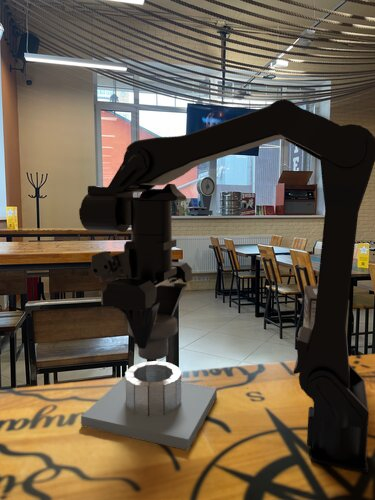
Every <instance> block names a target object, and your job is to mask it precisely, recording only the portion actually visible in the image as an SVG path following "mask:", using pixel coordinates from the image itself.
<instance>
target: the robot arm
mask: <svg viewBox="0 0 375 500" xmlns="http://www.w3.org/2000/svg"><path fill="white" fill-rule="evenodd" d="M278 140H284V141H286V142H287V143H289V144H291V145H293V146H295V147H296V148H298V149H300V150H302V151H303V152H305V153H306V154H309V156H311V157H313V158H315V159H317V160H319V161H320V162H319V164H320V173H321V183H322V185H321V186H322V192H323V193H322V194H323V202H324V219H323V230H322V237H321V238H322V239H321V240H322V241H321V248H320V249H321V250H320V260H319V268H318V269H319V271H318V279H317V281H318V282H317V286H318V289H317V300H316V310H315V319H314V322H313V325H312V329H309V328H306V327H303V325H302V326H300V330H299V333H298V336H297V340H296V353H297V357H296V361H295V365H294V367H293V372H292V373H293V374H294V375H297V374H298V382H299V387H300V389H301V390H302V391H303V392H304V393H305V394H306V396H307V397H309V398H310V399H312V402H313V406H310V407H308V415H307V432H306V433H307V434H306V446H307V447H308V448H310V451H309V452H310V454H309V455H310V456H309V460H310V461H311V462H314V463H319V464H322V465H323V464H324V465H328V466H332V467H337V468H342V469H347V470H352V471H355V472H360V473H368V471H369V462H368V458H367V450H368V449H367V447H368V434H369V433H368V432H369V419H370V418H369V417H370V413H369V412H370V411H369V403H368V398H367V396H368V395H367V390H366V389H367V388H366V381H365V379H364V378H363V377H362V376H361V375H360V374H359V373H358V372H357V370H356V369H354V367H353V366H352V365H351V364H350V360H349V359H350V358H349V348H348V345H349V344H348V333H347V334H346V320H347V311H348V302H349V303H350V292H351V291H350V290H351V281H352V274H353V265H354V257H355V256H354V254H355V246H356V237H357V228H358V220H359V211H360V209H361V205H362V204H363V199H364V196H365V194H366V191H367V187H368V185H369V182H370V178H371V176H372V175H371V174H372V172H373V169H374V166H375V136H374V134H373V133H372V132H371V131H370V130H369V129H368V128H366V127H363V126H362V125H359V124H351V123H350V124H344V125H339V124H338V123H336V122H334V121H332V120H330V119H328V118H326V117H325V116H324V117H323V115H322V116H321V115H319V114H317V113H314V112H312V111H309V110H307V109H304V108H302V107H300V106H299V105H297V104H296V103H294V102H293V101H292V100H290V99H277V100H275V101H274V102H272V103H271V104H269V105H267V106H265V107H262V108H259V109H255V110H253V111H250V112H247V113H244V114H242V115H238V116H235V117H233V118H230V119H227V120H224V121H221V122H219V123H216V124H213V125H210V126H207V127H205V128H202V129H199V130H195V131H193V132H190V133H187V134H184V135H177V136H158V137H151V138H145V139H138V140H135V141H133V142H131V143H130V144H129V145H127V147H126V150H125V153H124V154H123V158H122V159H123V161H122V163H121V164H120V166H119V167H118V169H117V171H116V173H115V174H114V176H113V177H112V180H111V181H110V182H109V185H108V186H103V185H88V186H87V194H86V195H85V196H84V198H83V199H82V201H81V204H80V207H79V210H78V213H79V214H78V215H79V216H78V217H79V220H80V223H81V225H82V227H83V228H84V230H86V231H88V232H104V233H105V232H107V233H125V232H127V231H128V230H129V228H130V227H131V229H130V230H131V231H130V232H131V239H130V240H127V241H125V243H124V245H123V249H124V250H123V252H121V253H118V254H113V255H112V256H111V254H109V253H108V251H102V252H99V253H96V254H93V255H91V263H90V264H91V265H90V267H91V268H90V273H91V274H92V275H93V276H94V277H95V278H99V281H100V283H105V282H107V281H108V280H112V279H114V280H112V281H109V282H108V283H106V284H105V285H104V286H102V288H101V289H100V300H101V301H100V302H101V303H100V304H101V305H102V306H105V307H112V308H113V309H118V310H119V311H120V312H121V313H123V314H124V316H125V318H126V320H127V323H128V322H129V325H130V327H131V330H132V333H133V335H134V337H133V338H134V341H135V344H136V346H137V348H141V349H145V348H146V346H147V343H148V340H149V337H150V334H151V331H152V327H153V324H154V320H155V317H156V314H167V315H171V316H173V317H174V314H175V311H176V310H177V307H178V305H179V303H180V300H181V298H182V296H183V294H184V292H185V290H186V288H187V286H188V284H187V283H188V282H190V281H192V280H193V269H192V267H191V266H190V265H189V264H188V262H182V261H181V262H178V261H177V262H176V261H173V254H172V253H173V250H172V249H173V248H175V247H177V239H173V237H172V235H173V234H172V226H173V225H172V222H173V221H172V219H173V218H172V202H184V201H186V200H187V197H186V195H184V193H182V191H180V190H179V189H178V187H177V186H176V184H175V183H171V182H173V181H175V180H177V179H179V178H181V177H183V176H184V175H185V174H187V173H188V172H190V171H191V170H192V169H194V168H195V167H198V166H199V165H202V164H205V163H208V162H212V161H215V160H218V159H221V158H224V157H229V156H231V155H234V154H238V153H241V152H244V151H247V150H250V149H253V148H257V147H259V146H263V145H266V144H269V143H272V142H275V141H278ZM156 186H164V187H163V188H162V189H161V188H160V189H157V188H156V189H154V187H156ZM134 193H140V195H139V197H137V196H135V197H134ZM120 276H122V277H120ZM117 277H118V278H117ZM119 277H120V278H119ZM115 278H116V279H115ZM180 279H181V280H182V282H181V283H180V282H179V281H180ZM348 312H349V311H348Z"/></svg>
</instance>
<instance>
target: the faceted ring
mask: <svg viewBox="0 0 375 500" xmlns="http://www.w3.org/2000/svg"><path fill="white" fill-rule="evenodd" d="M124 374H125V375H124V377H125V383H126V407H127V409H129V410H130V411H131V412H132V413H134V414H136V415H141V416H146V417H148V416H149V417H154V416H163V415H166V414H168V413H170V412H173V411H175V410H176V409H177V408H178V407H179V405H180V404H181V382H182V371H181V370H180V367H179V366H177V365H175V364H173V363H171V362H166V361H160V360H158V361H157V360H153V361H152V360H150V361H144V362H143V361H142V362H141V363H137V364H134V365H132V366H130V367H129V368H128V369H127V370H126V371H125V372H124Z"/></svg>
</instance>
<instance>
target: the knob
mask: <svg viewBox="0 0 375 500" xmlns="http://www.w3.org/2000/svg"><path fill="white" fill-rule="evenodd" d="M127 334H128V335H129V336H130V337H132V338H134V335H133V333H132V330H131V327H130V325H129V322H128V321H127ZM176 334H178V319H177V318H176V317H175V316H174V315H173V316H171V315H167V314H156V317H155V320H154V324H153V327H152V331H151V334H150V337H149V340H148V343H147V346H146V348H145V349H141V348H138V347H137V348H138V349H137V350H138V356H139V357H140V358H141V359H143V360H150V361H152V360H153V361H157V360H161V359H163V358H165V357H168V355H169V338H171V337H173V336H175V335H176Z"/></svg>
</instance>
